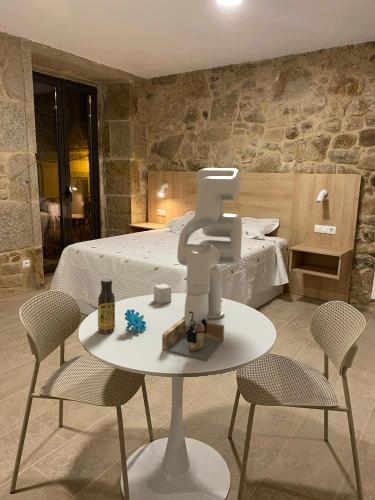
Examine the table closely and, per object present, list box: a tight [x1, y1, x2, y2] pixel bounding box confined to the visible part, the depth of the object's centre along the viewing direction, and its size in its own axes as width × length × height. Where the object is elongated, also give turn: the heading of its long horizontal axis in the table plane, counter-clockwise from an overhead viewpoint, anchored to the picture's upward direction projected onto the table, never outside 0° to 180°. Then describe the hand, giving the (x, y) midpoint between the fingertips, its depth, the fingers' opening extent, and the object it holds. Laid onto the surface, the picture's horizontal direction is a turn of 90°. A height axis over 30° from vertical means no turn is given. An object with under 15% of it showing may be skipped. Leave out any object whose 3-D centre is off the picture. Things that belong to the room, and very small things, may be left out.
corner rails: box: [161, 316, 225, 352], centre depth 127 cm, size 16×16×6 cm
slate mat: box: [165, 333, 225, 362], centre depth 128 cm, size 16×16×1 cm
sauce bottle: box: [97, 278, 116, 334], centre depth 136 cm, size 6×6×20 cm
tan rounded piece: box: [189, 321, 205, 351], centre depth 123 cm, size 6×8×10 cm
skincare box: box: [153, 283, 172, 305], centre depth 169 cm, size 6×6×7 cm
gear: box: [124, 309, 147, 333], centre depth 140 cm, size 11×6×10 cm
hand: (197, 336), depth 124 cm, fingers closed on tan rounded piece, 7 cm apart
